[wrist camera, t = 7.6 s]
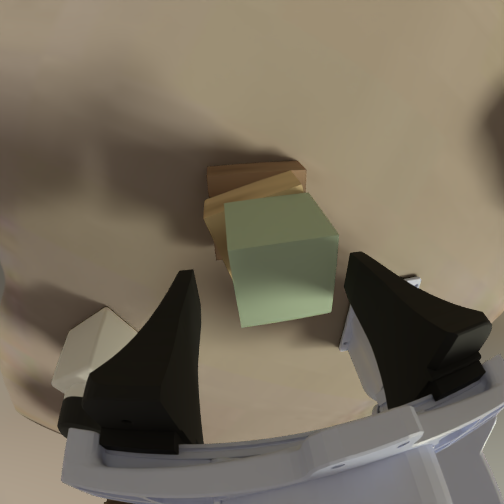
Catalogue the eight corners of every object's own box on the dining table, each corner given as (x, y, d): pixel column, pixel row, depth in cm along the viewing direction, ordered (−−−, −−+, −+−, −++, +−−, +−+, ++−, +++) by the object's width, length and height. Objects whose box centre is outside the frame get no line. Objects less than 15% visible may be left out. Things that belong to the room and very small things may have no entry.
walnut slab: (293, 234, 22) (301, 252, 20) (215, 241, 22) (216, 260, 20) (296, 159, 19) (306, 169, 17) (207, 164, 19) (206, 176, 17)
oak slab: (310, 242, 20) (320, 263, 18) (235, 267, 20) (238, 291, 18) (290, 170, 17) (301, 184, 15) (204, 200, 17) (203, 218, 15)
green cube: (308, 260, 18) (331, 312, 14) (234, 271, 17) (241, 327, 14) (308, 192, 15) (338, 234, 11) (224, 203, 15) (227, 250, 11)
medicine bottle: (68, 329, 25) (37, 429, 15) (107, 304, 24) (74, 424, 14) (116, 365, 29) (101, 460, 19) (158, 346, 27) (150, 457, 17)
